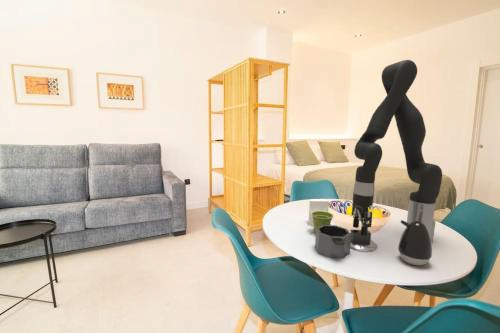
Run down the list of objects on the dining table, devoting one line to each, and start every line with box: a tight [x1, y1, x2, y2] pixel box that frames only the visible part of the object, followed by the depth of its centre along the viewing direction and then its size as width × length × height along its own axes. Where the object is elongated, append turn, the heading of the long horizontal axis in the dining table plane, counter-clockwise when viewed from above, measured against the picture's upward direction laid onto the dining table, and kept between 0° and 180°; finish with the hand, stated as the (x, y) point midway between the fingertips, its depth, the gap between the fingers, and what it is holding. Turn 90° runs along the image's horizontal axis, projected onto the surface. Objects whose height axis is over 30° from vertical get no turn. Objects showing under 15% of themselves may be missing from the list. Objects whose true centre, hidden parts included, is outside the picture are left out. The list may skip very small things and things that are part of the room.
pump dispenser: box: [397, 219, 433, 266], centre depth 93 cm, size 10×10×15 cm
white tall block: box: [308, 198, 330, 227], centre depth 129 cm, size 9×9×12 cm
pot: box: [314, 224, 351, 259], centre depth 101 cm, size 12×17×8 cm
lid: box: [350, 229, 378, 253], centre depth 107 cm, size 13×13×6 cm
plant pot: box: [312, 211, 334, 234], centre depth 118 cm, size 9×9×9 cm
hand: (359, 231), depth 107 cm, fingers open, 8 cm apart
